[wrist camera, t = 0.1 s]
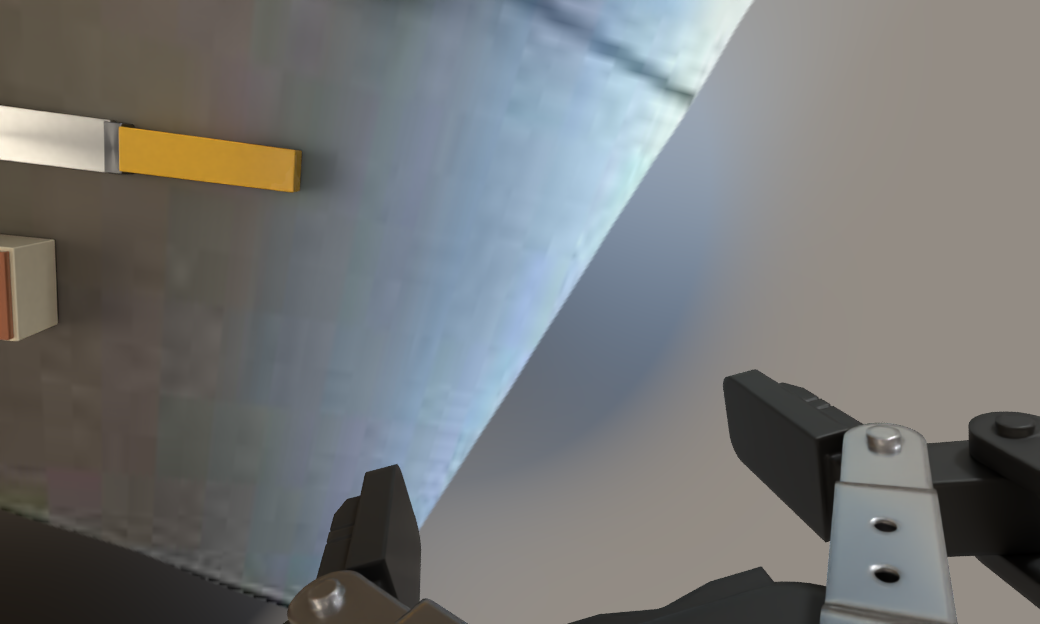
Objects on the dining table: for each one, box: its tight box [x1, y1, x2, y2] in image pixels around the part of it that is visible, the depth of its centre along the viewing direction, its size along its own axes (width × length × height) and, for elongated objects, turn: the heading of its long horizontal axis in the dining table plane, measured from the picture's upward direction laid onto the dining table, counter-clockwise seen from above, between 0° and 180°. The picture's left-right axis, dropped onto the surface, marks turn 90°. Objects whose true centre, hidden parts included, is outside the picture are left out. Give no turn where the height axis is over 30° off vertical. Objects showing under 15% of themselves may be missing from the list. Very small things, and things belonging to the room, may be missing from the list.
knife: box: [0, 105, 302, 192], centre depth 36 cm, size 26×3×2 cm, turn 82°
